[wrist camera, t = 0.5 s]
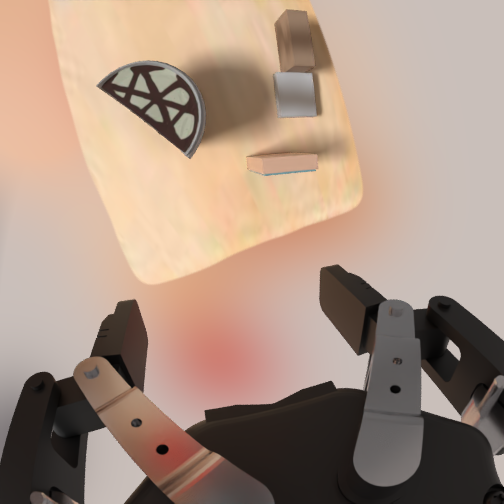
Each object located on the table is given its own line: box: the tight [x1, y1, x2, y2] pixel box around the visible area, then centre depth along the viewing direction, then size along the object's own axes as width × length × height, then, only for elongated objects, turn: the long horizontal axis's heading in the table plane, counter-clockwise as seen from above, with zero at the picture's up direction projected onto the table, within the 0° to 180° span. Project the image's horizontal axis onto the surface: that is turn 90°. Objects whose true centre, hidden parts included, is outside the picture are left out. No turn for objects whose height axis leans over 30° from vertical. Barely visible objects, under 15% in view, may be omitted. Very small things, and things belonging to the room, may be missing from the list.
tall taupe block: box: [273, 9, 317, 118], centre depth 30 cm, size 14×5×5 cm, turn 6°
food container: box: [97, 61, 206, 159], centre depth 26 cm, size 12×6×10 cm, turn 48°
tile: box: [246, 153, 318, 176], centre depth 32 cm, size 2×6×8 cm, turn 96°
